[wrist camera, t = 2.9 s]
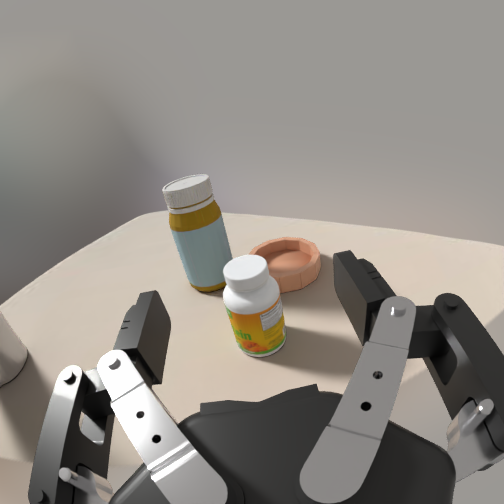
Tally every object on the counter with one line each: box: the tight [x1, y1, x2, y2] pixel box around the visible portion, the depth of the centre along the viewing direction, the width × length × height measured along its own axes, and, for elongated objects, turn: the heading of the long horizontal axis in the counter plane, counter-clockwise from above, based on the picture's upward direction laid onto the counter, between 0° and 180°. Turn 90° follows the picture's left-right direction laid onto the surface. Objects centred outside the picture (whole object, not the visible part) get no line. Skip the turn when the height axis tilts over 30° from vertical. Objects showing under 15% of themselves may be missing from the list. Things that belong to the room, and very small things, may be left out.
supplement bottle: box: [223, 255, 286, 357], centre depth 28 cm, size 5×5×10 cm
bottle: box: [162, 174, 233, 292], centre depth 39 cm, size 7×7×15 cm
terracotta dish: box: [249, 237, 321, 293], centre depth 40 cm, size 10×10×2 cm
